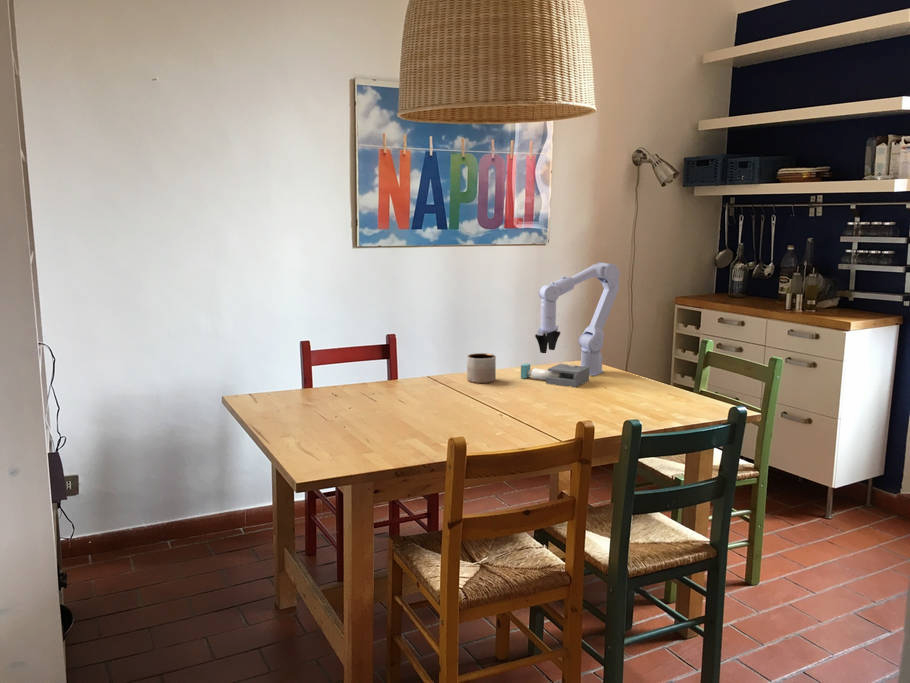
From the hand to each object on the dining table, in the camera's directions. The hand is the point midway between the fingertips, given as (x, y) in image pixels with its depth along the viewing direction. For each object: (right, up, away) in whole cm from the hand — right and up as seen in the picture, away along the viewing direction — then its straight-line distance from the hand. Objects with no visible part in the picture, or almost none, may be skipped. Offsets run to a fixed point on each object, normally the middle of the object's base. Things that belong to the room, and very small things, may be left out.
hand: (547, 351), depth 307 cm
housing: (+6, -12, -9) cm, 16 cm away
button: (+9, -8, -6) cm, 13 cm away
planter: (-26, -11, -6) cm, 29 cm away
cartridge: (-3, -11, -5) cm, 12 cm away
